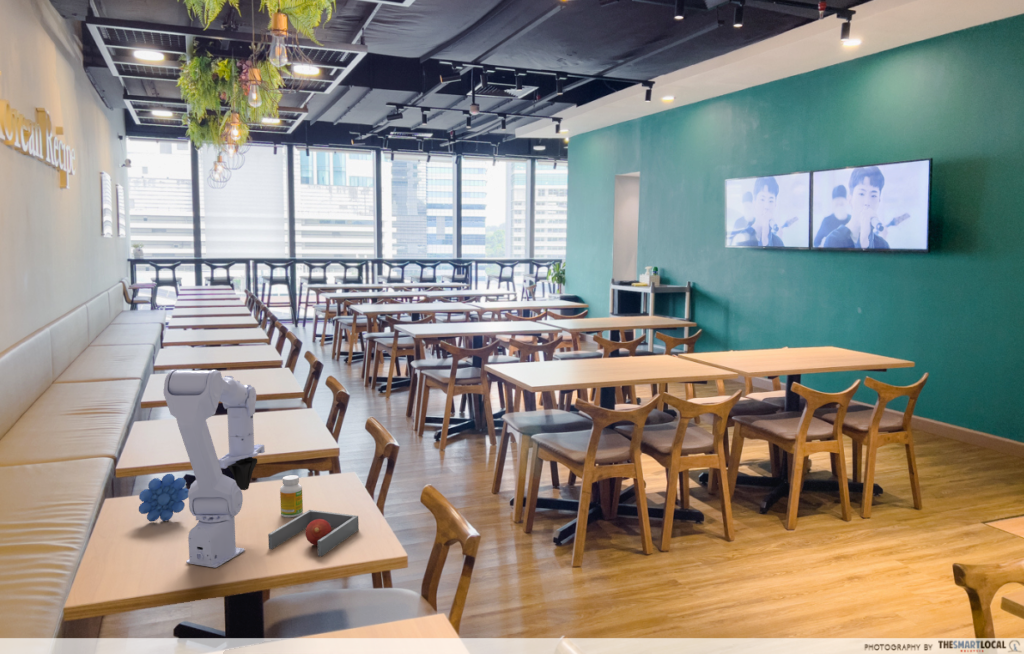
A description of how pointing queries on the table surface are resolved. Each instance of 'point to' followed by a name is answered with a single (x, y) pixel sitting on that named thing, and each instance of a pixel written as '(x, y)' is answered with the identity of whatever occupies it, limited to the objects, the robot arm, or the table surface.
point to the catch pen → (336, 520)
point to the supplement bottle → (291, 497)
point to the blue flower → (163, 498)
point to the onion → (317, 530)
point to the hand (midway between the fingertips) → (243, 489)
